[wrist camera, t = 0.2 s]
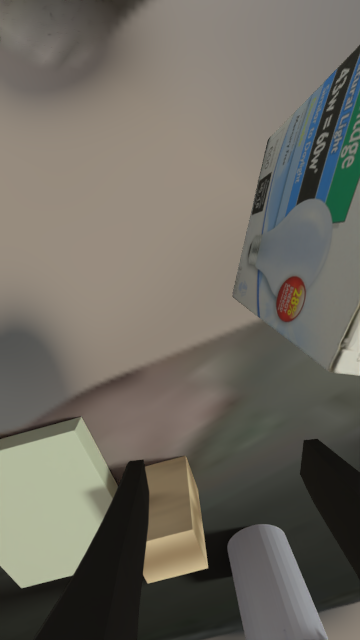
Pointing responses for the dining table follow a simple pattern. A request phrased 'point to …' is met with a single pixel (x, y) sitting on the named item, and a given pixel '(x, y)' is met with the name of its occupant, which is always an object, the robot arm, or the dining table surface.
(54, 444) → the green tile
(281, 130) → the light bulb box
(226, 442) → the dining table surface
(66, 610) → the robot arm
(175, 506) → the maple block
